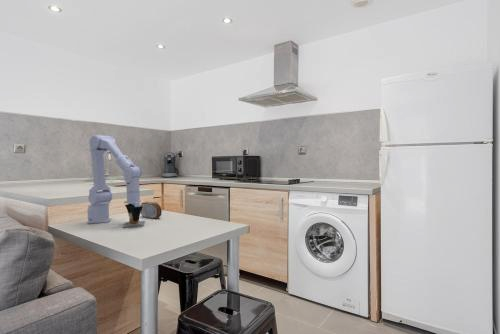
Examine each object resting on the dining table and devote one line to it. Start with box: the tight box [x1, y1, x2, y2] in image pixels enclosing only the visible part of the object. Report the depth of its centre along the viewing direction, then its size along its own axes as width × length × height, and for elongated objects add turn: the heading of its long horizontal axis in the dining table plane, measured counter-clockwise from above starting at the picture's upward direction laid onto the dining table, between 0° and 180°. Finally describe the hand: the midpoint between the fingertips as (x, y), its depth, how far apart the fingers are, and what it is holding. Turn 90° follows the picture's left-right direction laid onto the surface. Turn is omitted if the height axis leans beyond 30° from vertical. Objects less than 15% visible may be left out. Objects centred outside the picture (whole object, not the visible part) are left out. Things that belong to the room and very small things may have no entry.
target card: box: [122, 220, 146, 229], centre depth 134 cm, size 9×10×1 cm
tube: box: [128, 213, 139, 224], centre depth 134 cm, size 4×4×5 cm
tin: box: [140, 201, 162, 220], centre depth 151 cm, size 15×3×8 cm, turn 58°
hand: (134, 219), depth 134 cm, fingers open, 7 cm apart
